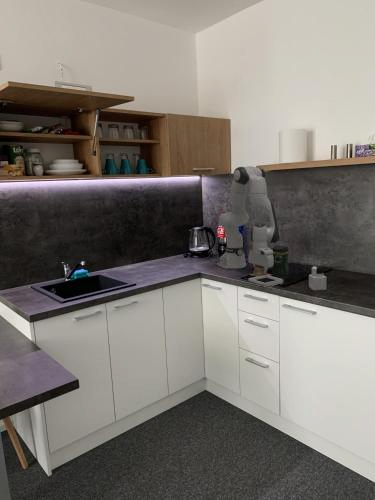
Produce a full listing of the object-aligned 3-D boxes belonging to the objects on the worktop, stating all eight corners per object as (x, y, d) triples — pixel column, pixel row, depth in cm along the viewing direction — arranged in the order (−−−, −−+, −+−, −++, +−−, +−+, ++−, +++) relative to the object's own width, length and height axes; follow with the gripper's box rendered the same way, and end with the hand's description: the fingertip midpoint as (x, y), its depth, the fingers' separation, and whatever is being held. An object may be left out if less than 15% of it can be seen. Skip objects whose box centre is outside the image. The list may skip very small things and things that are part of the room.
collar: (250, 275, 241) (250, 267, 241) (260, 272, 245) (260, 265, 244) (257, 276, 236) (257, 268, 235) (267, 274, 240) (267, 266, 239)
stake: (249, 276, 243) (248, 267, 242) (261, 273, 248) (261, 264, 247) (259, 279, 235) (259, 270, 234) (272, 276, 239) (272, 267, 238)
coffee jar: (290, 274, 242) (290, 245, 239) (284, 277, 237) (284, 247, 233) (276, 272, 249) (276, 244, 246) (270, 275, 243) (270, 246, 240)
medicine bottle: (321, 286, 213) (321, 265, 211) (326, 289, 206) (326, 267, 204) (308, 287, 213) (308, 265, 211) (313, 290, 206) (313, 268, 204)
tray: (248, 282, 228) (248, 278, 228) (266, 278, 235) (266, 274, 235) (264, 287, 216) (264, 283, 215) (283, 283, 222) (283, 279, 222)
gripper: (245, 248, 246) (246, 269, 248) (267, 252, 228) (267, 275, 231) (253, 247, 249) (253, 268, 251) (275, 251, 231) (275, 274, 234)
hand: (260, 272), depth 241 cm, fingers closed on collar, 7 cm apart
